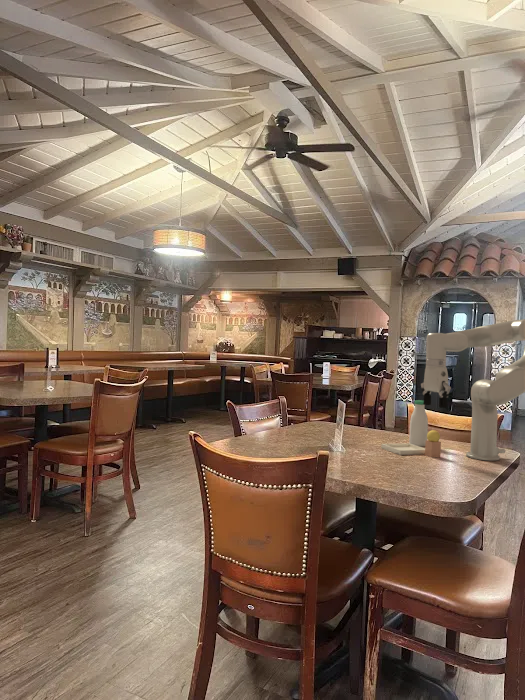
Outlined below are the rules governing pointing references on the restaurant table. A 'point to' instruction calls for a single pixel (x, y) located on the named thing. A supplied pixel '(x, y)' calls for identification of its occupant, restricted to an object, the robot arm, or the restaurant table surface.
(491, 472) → the restaurant table surface
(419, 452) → the tray
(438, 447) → the brown rectangular block
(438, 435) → the ball
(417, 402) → the milk bottle
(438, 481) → the restaurant table surface
